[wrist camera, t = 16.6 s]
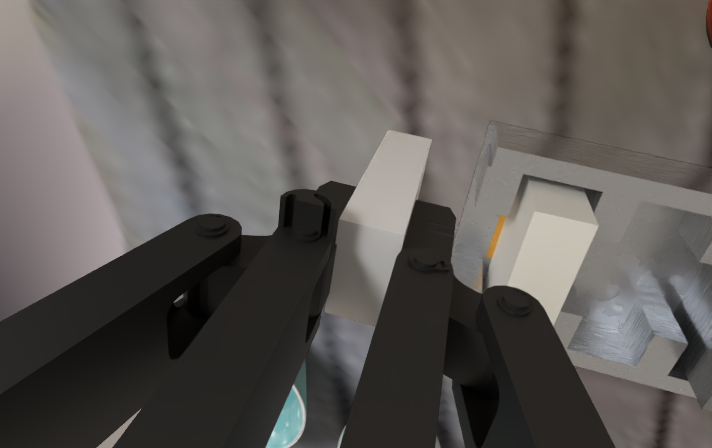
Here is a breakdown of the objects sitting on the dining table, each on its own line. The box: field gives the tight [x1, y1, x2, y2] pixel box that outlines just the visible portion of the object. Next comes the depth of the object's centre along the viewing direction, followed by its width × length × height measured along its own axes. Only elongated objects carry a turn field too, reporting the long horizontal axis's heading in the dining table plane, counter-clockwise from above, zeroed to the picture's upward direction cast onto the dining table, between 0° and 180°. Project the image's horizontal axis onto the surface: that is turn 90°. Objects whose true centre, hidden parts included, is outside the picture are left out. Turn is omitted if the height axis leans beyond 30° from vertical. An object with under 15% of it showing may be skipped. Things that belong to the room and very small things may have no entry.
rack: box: [451, 121, 712, 412], centre depth 38 cm, size 27×17×10 cm, turn 81°
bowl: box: [266, 359, 307, 448], centre depth 54 cm, size 16×16×8 cm
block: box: [484, 174, 599, 326], centre depth 38 cm, size 4×12×9 cm, turn 171°
